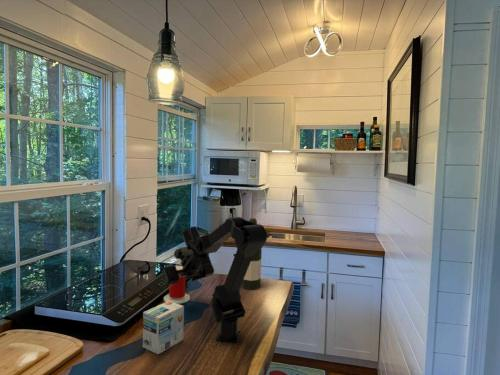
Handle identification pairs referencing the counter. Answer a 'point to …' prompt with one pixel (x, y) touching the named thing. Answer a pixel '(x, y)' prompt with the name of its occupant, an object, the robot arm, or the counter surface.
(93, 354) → the counter surface
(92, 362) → the counter surface
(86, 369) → the counter surface
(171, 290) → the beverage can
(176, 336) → the light bulb box
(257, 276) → the wine bottle
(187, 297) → the coaster
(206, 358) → the counter surface
